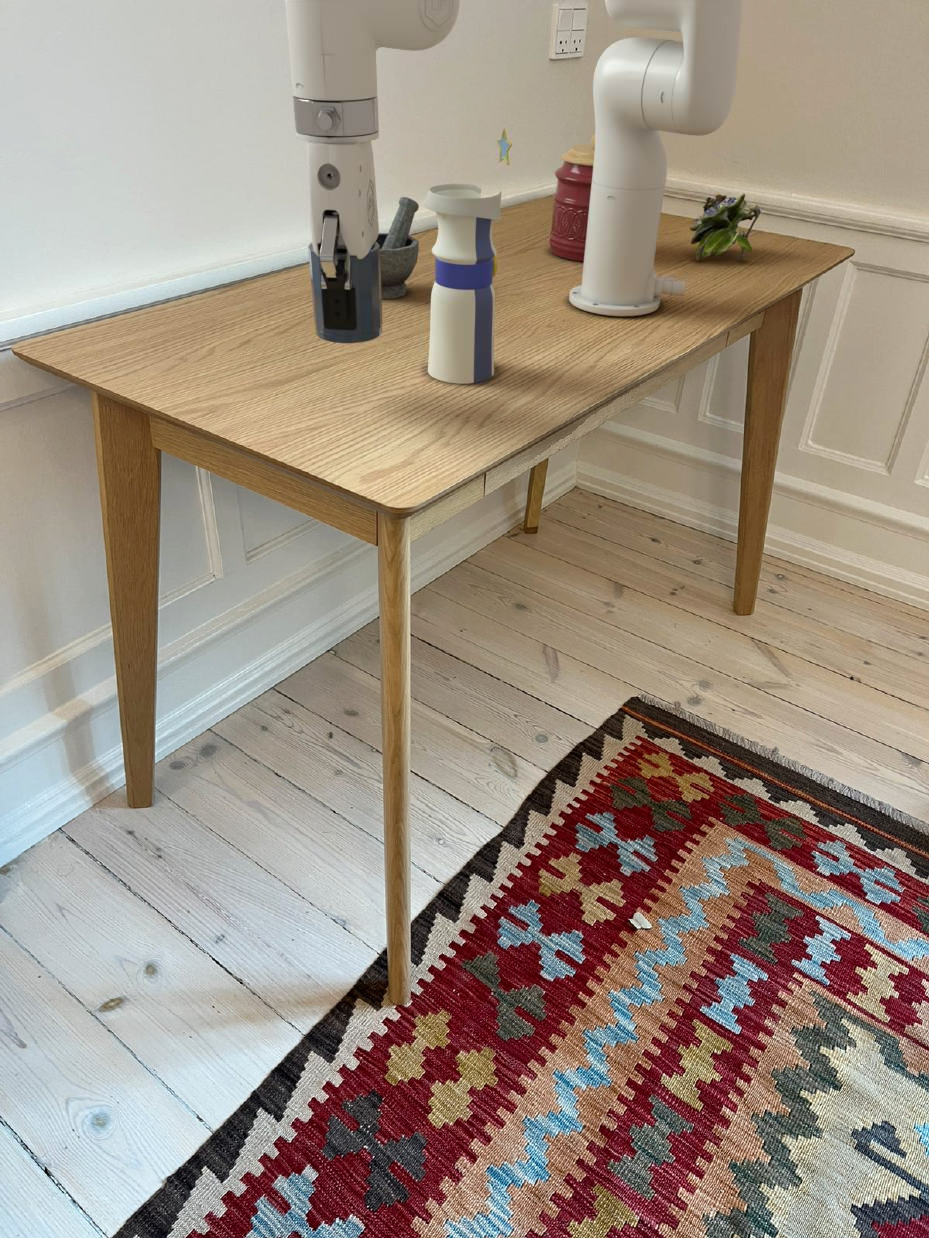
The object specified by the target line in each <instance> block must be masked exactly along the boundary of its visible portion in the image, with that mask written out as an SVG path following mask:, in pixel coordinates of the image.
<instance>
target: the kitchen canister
mask: <svg viewBox="0 0 929 1238" xmlns="http://www.w3.org/2000/svg"><path fill="white" fill-rule="evenodd" d="M594 152H595V133H594V134H593V135H592V137H591V140H590V144H579V145H574V146H572V147H571V148H570V149H569V150H567V151H565V152H564V153H563V154H562V155H561V156H560V157H561V160H562V161H563V163H562V165H561V166H560V167H558V168H557V169H556V170H555V171H554V176H555V178H556V180H557V183H556V188H555V189H556V190H555V192H554V193H553V195H552V198H553V202H552V203H553V205H552V218H551V230H550V233H549V241H548V242H549V247H550V250H549V251H550V252H551V253H552V254H554V255H555V256H557V257H560V258H563V259H567V260H573V261H578V262H584V255H585V245H586V235H587V225H588V215H589V204H590V194H591V184H592V175H593V165H594Z"/></svg>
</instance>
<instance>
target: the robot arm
mask: <svg viewBox="0 0 929 1238" xmlns="http://www.w3.org/2000/svg"><path fill="white" fill-rule="evenodd" d="M604 3H605V4H604V5H605V9H606V12H607V14H608V16H609V17H610V19H611V20H612V21H613V22H614V23H617V24H618V25H621V26H624V27H629V28H635V29H646V30H655V31H667V32H678V33H681V37H682V41H681V40H674V39H666V38H654V37H639V36H638V37H628V38H623V39H619V40H617V41H615V42H613V43H612V44H610V45H609V46H608V47H607V48H606V49H605V50H604V51H603V52H602V54H601V55H600V57H599V58H598V61H597V63H596V66H595V69H594V73H593V78H592V79H593V81H592V96H593V98H592V100H593V113H594V134H595V152H594V165H593V175H592V184H591V194H590V204H589V215H588V225H587V235H586V245H585V255H584V261H583V264H582V265H583V267H582V276H581V277H582V278H581V284H579V285H576V286H574V287H573V288H571V290H569V294H568V295H569V296H568V300H569V303H570V304H571V305H572V306H574V307H576V308H577V309H579V310H582V311H584V312H587V313H591V314H596V315H601V316H609V317H636V316H637V317H638V316H643V315H649V314H651V313H654V312H655V311H657V310H658V309H659V308H660V305H661V304H660V303H661V295H670V296H676V297H684V296H685V294H686V287H687V281H686V280H676V278H675V277H659V275H657V273H656V270H655V267H654V266H655V265H654V264H655V259H656V258H655V257H656V252H657V251H656V250H657V244H658V237H659V229H660V224H661V217H662V216H661V214H662V208H663V201H664V195H665V194H664V193H665V187H666V183H667V174H668V162H667V161H668V159H667V155H666V150H665V147H664V144H663V141H662V138H661V136H660V135H661V134H660V132H665V133H673V134H679V135H687V136H706V135H710V134H712V133H715V132H716V131H717V130H719V129H720V128H721V127H722V125H723V124H724V123H725V121H726V120H727V118H728V116H729V114H730V112H731V110H732V106H733V102H734V98H735V93H736V86H737V77H738V66H739V52H740V40H741V39H740V37H741V24H742V11H743V0H604ZM284 5H285V6H284V7H285V18H286V28H287V29H286V30H287V42H288V54H289V67H290V79H291V88H292V102H293V103H292V104H293V116H294V117H293V118H294V129H295V138H296V139H297V140H299V141H303V142H306V162H307V164H306V169H307V191H308V209H309V210H308V211H309V224H310V234H311V243H312V244H313V249H314V252H315V254H316V255H317V256H319V257H320V262H321V265H322V268H321V290H322V304H323V317H324V327H325V328H326V329H332V330H355V329H356V327H357V310H356V291H355V288H353V287H352V261H353V258H352V255H357V258H358V259H363V258H364V257H365V256H366V255H367V254H368V252H369V251H370V249H371V248H372V246H373V245H374V243H375V241H376V240H377V238H378V234H379V233H380V227H379V213H378V212H379V211H378V198H377V187H376V186H377V185H376V173H375V172H376V171H375V160H374V153H373V151H374V150H373V144H372V141H376V140H377V139H379V138H380V130H379V129H380V127H379V102H378V101H379V100H378V99H379V98H378V77H377V76H378V75H377V73H378V72H377V51H378V49H379V48H386V49H393V50H400V51H409V52H410V51H412V52H414V51H415V52H417V51H418V52H419V51H424V50H428V49H431V48H433V47H435V46H437V45H439V44H440V43H441V42H443V41H444V40H445V39H446V38H447V37H448V36H449V34H450V33H451V32H452V30H453V28H454V26H455V25H456V22H457V19H458V16H459V11H460V0H284ZM659 131H660V132H659ZM337 249H347V254H340V253H337ZM319 253H320V254H319ZM338 262H345V272H344V269H342V266H341V265H337V264H338Z"/></svg>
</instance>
